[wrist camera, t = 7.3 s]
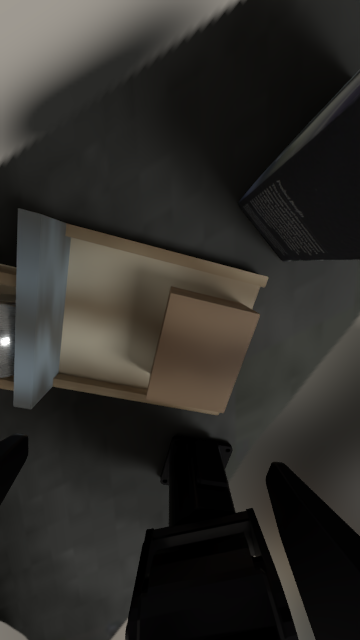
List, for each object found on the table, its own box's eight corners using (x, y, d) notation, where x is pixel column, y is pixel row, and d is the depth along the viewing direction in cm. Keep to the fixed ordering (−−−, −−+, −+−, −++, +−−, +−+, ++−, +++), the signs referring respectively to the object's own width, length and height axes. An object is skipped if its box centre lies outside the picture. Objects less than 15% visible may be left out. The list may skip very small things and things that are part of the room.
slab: (213, 385, 18) (223, 413, 15) (150, 373, 18) (145, 399, 14) (241, 303, 16) (260, 314, 13) (170, 286, 16) (171, 292, 12)
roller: (40, 298, 16) (25, 311, 13) (39, 353, 17) (24, 378, 14) (-18, 290, 14) (-52, 303, 11) (-15, 352, 16) (-45, 378, 13)
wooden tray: (214, 404, 20) (225, 440, 16) (-24, 362, 17) (-80, 391, 13) (260, 275, 16) (289, 280, 12) (-29, 199, 14) (-108, 174, 10)
